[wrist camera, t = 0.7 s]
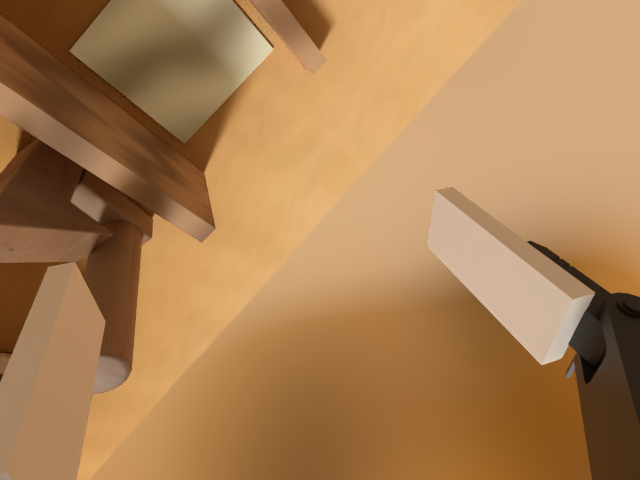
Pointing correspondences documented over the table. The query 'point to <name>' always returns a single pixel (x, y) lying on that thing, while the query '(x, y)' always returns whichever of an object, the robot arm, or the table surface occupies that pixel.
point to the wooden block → (78, 240)
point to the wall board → (144, 92)
